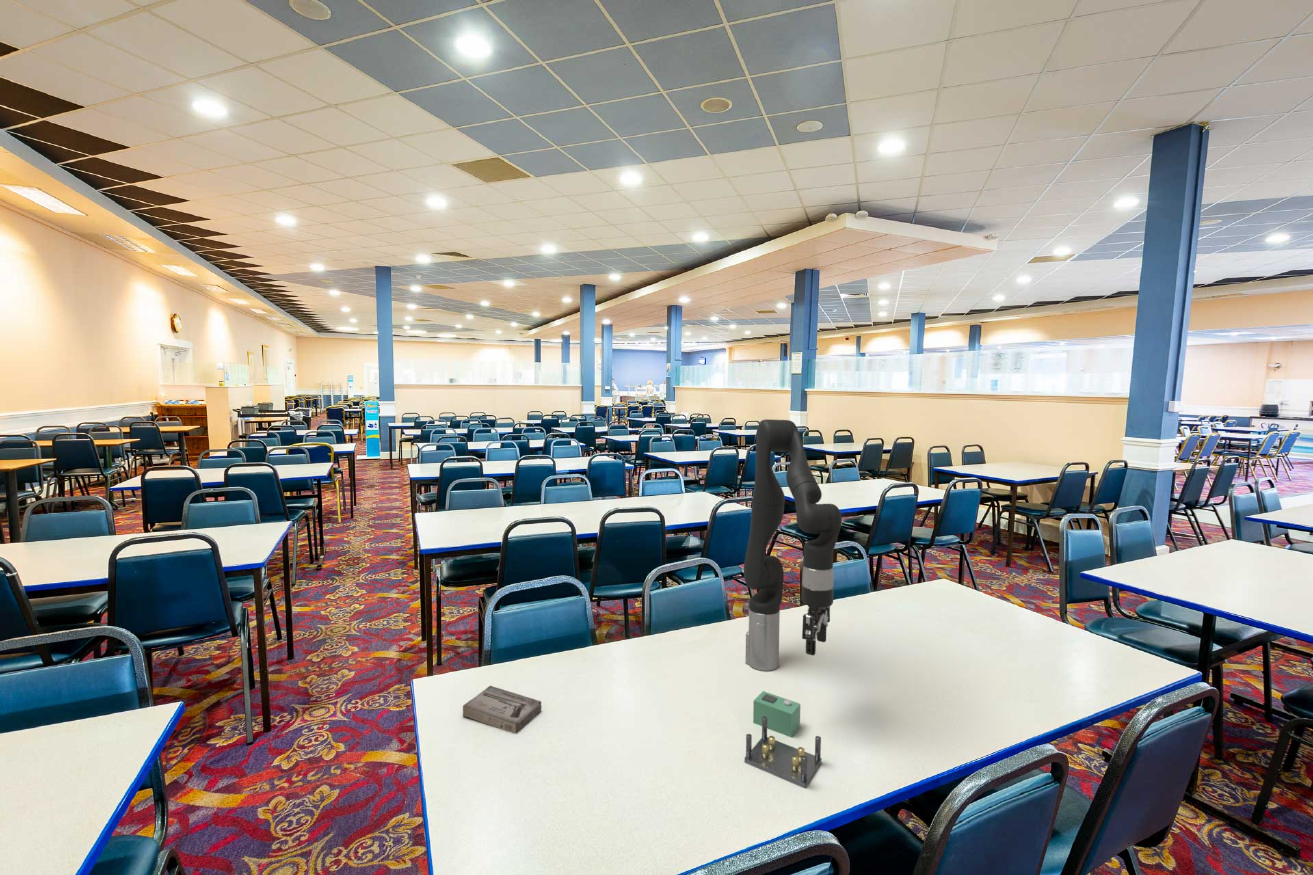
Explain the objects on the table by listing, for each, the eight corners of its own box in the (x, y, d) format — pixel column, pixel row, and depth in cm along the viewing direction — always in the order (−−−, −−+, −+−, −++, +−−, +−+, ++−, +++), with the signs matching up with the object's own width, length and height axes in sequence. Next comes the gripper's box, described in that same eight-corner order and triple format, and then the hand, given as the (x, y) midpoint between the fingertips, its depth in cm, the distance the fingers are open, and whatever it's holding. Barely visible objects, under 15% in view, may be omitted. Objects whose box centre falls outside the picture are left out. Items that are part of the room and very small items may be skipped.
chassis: (744, 762, 123) (744, 736, 122) (763, 739, 131) (763, 715, 130) (805, 787, 115) (805, 760, 114) (821, 762, 123) (822, 736, 122)
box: (489, 695, 150) (489, 684, 149) (542, 711, 143) (542, 700, 142) (461, 717, 140) (460, 705, 140) (516, 735, 133) (516, 723, 133)
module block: (753, 723, 138) (753, 697, 137) (762, 713, 142) (763, 688, 142) (791, 737, 132) (791, 711, 131) (799, 726, 136) (800, 701, 136)
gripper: (811, 573, 144) (810, 633, 145) (792, 589, 132) (791, 654, 133) (841, 578, 140) (839, 640, 141) (823, 595, 128) (822, 663, 129)
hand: (816, 647), depth 137 cm, fingers open, 8 cm apart
